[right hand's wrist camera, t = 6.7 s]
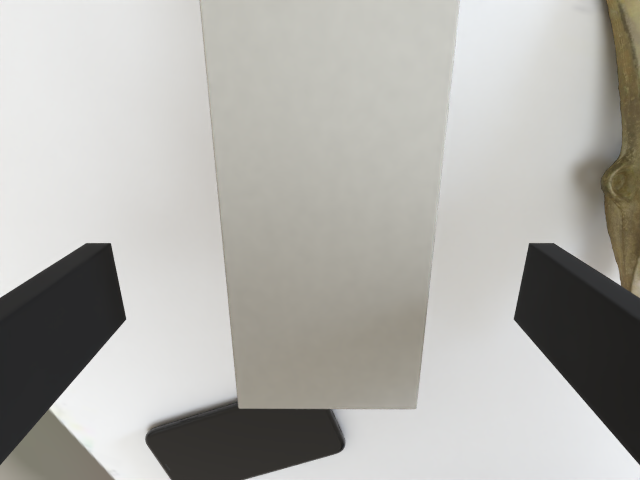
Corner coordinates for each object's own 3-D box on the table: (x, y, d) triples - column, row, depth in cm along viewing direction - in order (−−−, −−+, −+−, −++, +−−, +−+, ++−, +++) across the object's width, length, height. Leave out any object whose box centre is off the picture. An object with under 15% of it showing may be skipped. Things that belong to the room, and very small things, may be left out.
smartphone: (317, 374, 32) (143, 428, 33) (317, 382, 31) (138, 436, 32) (348, 443, 34) (185, 489, 36) (349, 452, 33) (182, 499, 35)
